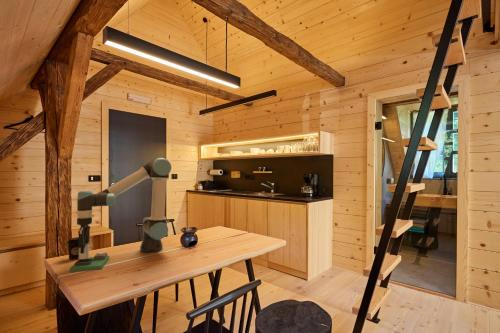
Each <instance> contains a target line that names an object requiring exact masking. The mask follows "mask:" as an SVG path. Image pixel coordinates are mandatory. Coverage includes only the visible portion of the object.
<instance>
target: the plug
mask: <svg viewBox="0 0 500 333" xmlns="http://www.w3.org/2000/svg"><path fill="white" fill-rule="evenodd" d="M89 243H90V242H89ZM89 243H85V247H86V253H85V259H87V258H88V257H90V256H89V255H90V254H89V253H90V244H89ZM79 259H80V248H79ZM79 259H78V260H79Z"/></svg>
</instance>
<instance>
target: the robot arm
mask: <svg viewBox="0 0 500 333" xmlns="http://www.w3.org/2000/svg"><path fill="white" fill-rule="evenodd" d="M171 171H172V164H171V162H170V161H169V160H168V159H166V158H163V157H157V158H153V159H151V160H149V162H147V163H146V164H144V165H142V166H141V167H140V169H139V170H137V171H135V172H133V173H131V174H129V175H128V176H126V177H124V178H123V179H121V180H119V181H118V182H116V183H114V184H112V185H110V186H108V187H107V188H106V189H104V190H102V191H99V192H97V193H94V192H93V191H92V190H79V191H78V192H77V199H76V202H77V204H76V210H77V211H76V212H75V213H76V214H77V216H76V225H78V226H79V230H78V231H77V232H78V234H77V235H78V237H79V244H78V248H80V259H85V253H86V247H85V243H89V245H91V243H90V234H91V232H90V230H91V226H90V224H93V208H94V207H95V208H96V207H109V206H114V205H115V204H116V197H118V196H119V195H121V194H123V193H125V192H126V191H128V190H130V189H131V188H133V187H134V186H136V185H138V184H139V183H141V182H144V180H147V179H150V178H151V180H152V190H151V191H152V192H151V193H152V194H151V210H150V211H151V212H150V216H149V217H143V220H142V240H141V244H140V247H139V252H141V253H155V252H159V251H161V250H163V247H164V245H163V242H162V239H164V238H165V237H166V236H167V235H168V233H169V227H168V225H167V217H166V216H165V215H166V214H165V212H166V196H167V194H166V193H167V192H166V190H167V180H169V178H170V173H171Z"/></svg>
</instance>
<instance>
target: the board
mask: <svg viewBox="0 0 500 333" xmlns="http://www.w3.org/2000/svg"><path fill="white" fill-rule="evenodd" d="M109 260H110V256H109V255H108V252H97V253H95V254H94V256H92V257H90V256H89V257H88V258H87V259H77V260H75V262H74V263H73V264H72V265H71V267H70V268H69V273H72V272H73V273H74V272H83V271H84V272H86V271H95V270H97V271H98V270H103V268H104V267H105V265H106V264H108V261H109Z"/></svg>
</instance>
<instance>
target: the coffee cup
mask: <svg viewBox="0 0 500 333" xmlns="http://www.w3.org/2000/svg"><path fill="white" fill-rule="evenodd" d="M66 243H67V253H68V260H69V261H78V260H79V248H78V244H79V236H78V237H70V238H69V239H68V240H67V241H66Z"/></svg>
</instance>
